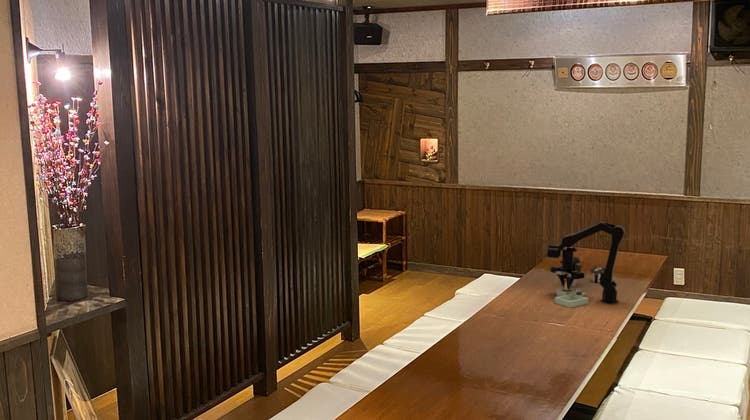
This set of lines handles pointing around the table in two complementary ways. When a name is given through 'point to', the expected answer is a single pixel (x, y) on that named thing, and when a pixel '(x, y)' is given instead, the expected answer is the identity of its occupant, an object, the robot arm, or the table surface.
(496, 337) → the table surface
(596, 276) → the architectural model
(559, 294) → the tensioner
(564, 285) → the lock pin
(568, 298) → the tray
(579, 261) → the coffee cup
